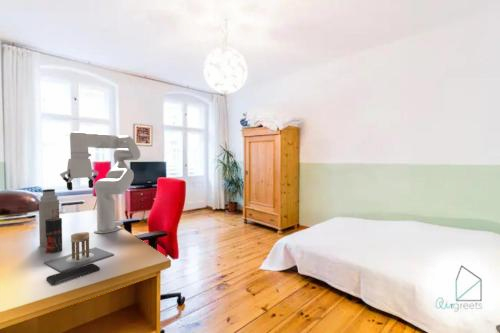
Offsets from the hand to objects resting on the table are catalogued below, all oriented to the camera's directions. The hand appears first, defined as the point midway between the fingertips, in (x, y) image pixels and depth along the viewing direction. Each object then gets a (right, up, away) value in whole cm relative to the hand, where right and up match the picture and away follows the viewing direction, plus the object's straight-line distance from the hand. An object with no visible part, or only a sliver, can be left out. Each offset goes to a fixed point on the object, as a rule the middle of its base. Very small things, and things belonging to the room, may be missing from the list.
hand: (80, 188), depth 126 cm
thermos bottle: (-14, -28, -2) cm, 32 cm away
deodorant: (-4, -28, -12) cm, 31 cm away
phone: (+23, -29, -36) cm, 51 cm away
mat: (+15, -28, -22) cm, 39 cm away
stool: (+15, -28, -22) cm, 38 cm away
